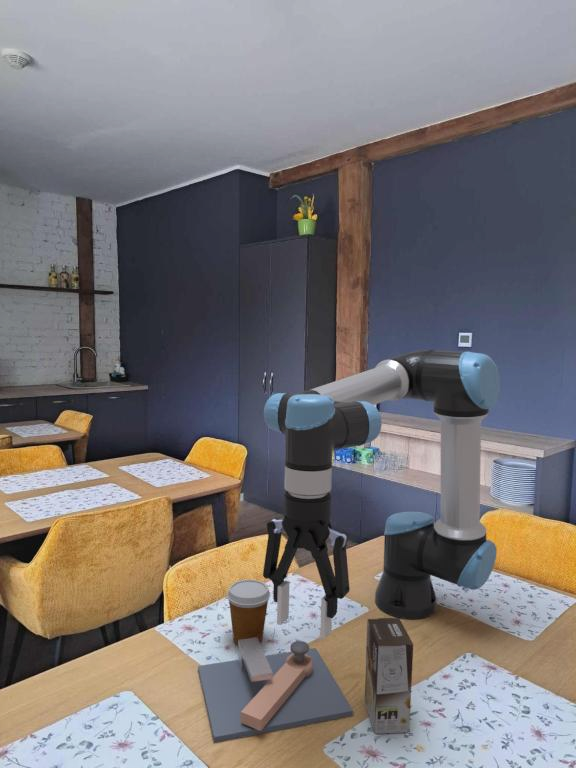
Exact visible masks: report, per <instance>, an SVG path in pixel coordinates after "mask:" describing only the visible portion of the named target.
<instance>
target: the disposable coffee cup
mask: <svg viewBox="0 0 576 768" xmlns="http://www.w3.org/2000/svg"><path fill="white" fill-rule="evenodd" d="M270 597H271V591H270V589H269V586H268V585H267V584H266V583H265V582H264V581H261V580H257V579H243V580H238V581H236V582H235V581H234V582H233V583H232V584H230V586H229V589H228V591H227V592H226V598H227V600H228V602H229V610H230V618H231V619H230V621H231V627H232V628H231V629H232V636H233V637H232V638H233V643H234V645H236V646H237V647H239V646H238V640H241V639H248V638H255V637H258V640H259V642H260V644H261V645H262V642H263V636H264V630H265V623H266V617H267V610H268V604H269V603H268V602H269V600H270Z"/></svg>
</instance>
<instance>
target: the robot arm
mask: <svg viewBox="0 0 576 768" xmlns="http://www.w3.org/2000/svg"><path fill="white" fill-rule="evenodd" d="M500 391H501V381H500V374H499V369H498V366H497V365H496V363H495V362H494V360H493V359H492V358H491V356H489V355H487V354H485V353H479V352H472V351H464V350H463V351H458V350H456V351H455V350H433V349H424V350H423V349H420V350H416V351H415V350H414V351H410V352H407V353H403V354H399V355H396V356H394V357H393V356H392V357H390V358H388V359H384V360H382V361H380V362H379V363H377V364H376V366H375V367H374V368H371V369H368V370H365V371H362V372H360V373H356V374H353V375H350V376H347V377H344V378H341V379H337V380H335V381H332V382H330V383H329V382H328V383H326V384H322V385H320V386H317V387H315V388H311V389H307V390H303V391H301V392H298V393H293V394H292V393H291V394H290V393H289V392H284V393H282V392H280V393H279V392H278V393H274V394H273V395H271V396H270V397H269V398H268V399H267V401H266V402H265V405H264V408H263V417H264V422H265V424H266V426H267V427H268V428H269V429H270V430H272V431H274V432H277V433H280V434H281V435H285V451H284V452H285V454H284V455H285V459H284V460H285V461H284V464H285V465H284V480H283V482H284V486H283V487H284V488H283V489H284V490H285V492H284V494H283V514H284V516H283V519H280V518H278V517H275V518H273V519H272V520H270V521H267V523H266V528H267V534H268V536H267V543H266V550H265V557H264V565H263V570H262V571H263V572H262V576H263V578H264V579H266V580H267V579H269V580H270V581H271V582H272V584H273V586H272V587H273V590H272V591H273V592H272V593H273V594H272V599H273V602H274V603H277V605H276V607H277V608H276V610H277V611H276V624H277V626H278V625H279V626H282V625H283V624H284V623H285V622H286V621H287V620H288V619H289V617H290V616H289V615H290V614H289V613H290V612H289V611H290V583H291V582H290V581H289V580H285V579H286V578H288V576H287V575H288V572H289V571H290V568H291V565H292V563H293V560H294V558H295V556H296V553H297V552H298V549H300V550H301V549H304V550H306V551H308V552H310V554H311V557H312V558H313V560H314V562H315V565H316V567H317V568H316V569H317V571H318V574H319V578H320V582H321V584H322V587H323V590H324V596H322V597H321V598H320V600H321V601H320V603H321V604H320V629H319V631H320V632H319V639H323V640H324V639H325V640H326V638H327V637H328V636H329V635H330V633H331V632H332V623H333V622H332V621H333V618H334V617H336V615H337V613H338V600H339V599H340V600H342V599H344V598H345V597H346V596H347V594H348V593H350V578H349V565H348V556H347V554H348V553H347V544H348V540H349V534H348V533H347V532H342V533H340V532H339V531H337V530H334V529H333V527H332V524H331V511H332V494H331V493H330V492H331V490H332V479H333V478H332V474H333V472H332V471H333V452H334V451H338V450H344V449H349V448H353V447H361V446H363V445H365V444H368V443H371V442H373V441H375V440H376V439H377V438H378V437H379V435H380V432H381V430H382V423H383V422H382V417H381V413H380V411H379V410H378V408H377V406H375V405H378V404H380V403H383V402H385V401H387V402H388V401H390V402H398V401H400V400H402V399H403V400H405V399H406V400H407V399H410V400H421V401H426V402H431V403H433V413H434V415H435V416H436V417H437V418H438V419H439V420H440V518H439V519H438V520H436V521H435V520H434V516H433V515H431V514H430V513H428V512H427V513H426V512H422V511H421V512H420V511H403V512H402V511H401V512H395V513H394V514H392V515H390V516H388V517H387V519H386V521H385V527H384V532H383V535H384V546H383V547H384V548H383V570H382V574H381V576H380V579H379V581H378V584H377V587H376V589H375V594H374V596H375V597H374V602H375V604H376V606H377V608H378V609H380V610H381V611H383V612H384V613H386V614H388V615H389V616H392V617H395V618H399V619H400V618H401V619H406V620H408V619H409V620H417V619H419V620H420V619H425V618H428V617H430V616H432V615H433V614H434V613H435V612H436V611H437V595H436V592H435V588H434V586H433V585H434V584H433V581H432V579H431V578H432V577H434V578H437V579H441V580H443V581H445V582H448V583H452V584H454V585H456V586H457V587H459V588H460V587H463V588H465V589H469V590H471V591H476V590H478V589H480V588H482V587H483V586H484V585H485V584H486V582H487V581H488V579H489V578H490V575H491V574H492V571H493V569H494V566H495V563H496V559H497V553H498V552H497V546H496V544H495V542H494V541H492V540H491V539H487V527H486V526H485V525H484V524H483V523H482V522H481V521H480V517H481V516H480V514H481V511H480V509H481V508H480V507H481V504H480V503H481V457H482V456H481V455H482V451H481V447H482V445H481V443H482V439H481V438H482V421H483V419H485V418H486V417H487V416H488V415H489V410H490V409H492V408H493V407H495V406H496V404H497V402H498V400H499V394H500V393H501V392H500ZM283 531H284V532H285V534H286V535H287V541H286V543H285V545H284V550H283V553H282V555H281V558H280V561H279V554H280V547H281V542H282V541H281V539H282V532H283ZM329 538H330V543H331V546H332V547H333V548H332V549H333V550H332V557H333V567H332V563H331V560H330V557H329V556H330V555H329V553H328V551H329V549H328V545H327V542H326V541H328V540H327V539H329ZM278 561H279V562H278ZM333 568H334V569H333Z"/></svg>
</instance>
